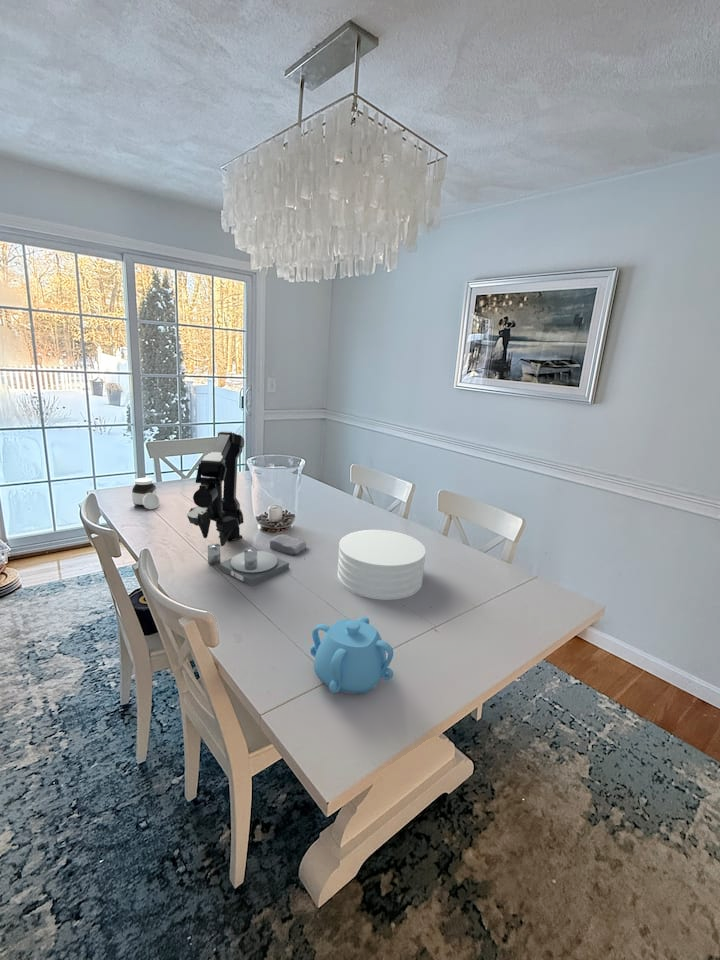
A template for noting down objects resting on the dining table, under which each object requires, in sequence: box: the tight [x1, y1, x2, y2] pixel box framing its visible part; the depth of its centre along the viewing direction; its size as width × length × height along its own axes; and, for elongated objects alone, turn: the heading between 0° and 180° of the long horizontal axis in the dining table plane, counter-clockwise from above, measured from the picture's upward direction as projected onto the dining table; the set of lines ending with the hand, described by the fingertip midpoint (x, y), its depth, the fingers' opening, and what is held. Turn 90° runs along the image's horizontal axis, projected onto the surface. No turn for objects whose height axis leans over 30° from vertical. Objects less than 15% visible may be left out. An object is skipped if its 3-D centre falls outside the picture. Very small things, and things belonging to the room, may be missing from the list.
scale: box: [218, 548, 290, 586], centre depth 148 cm, size 16×17×3 cm
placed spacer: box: [243, 547, 258, 570], centre depth 142 cm, size 4×4×6 cm
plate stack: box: [337, 529, 427, 601], centre depth 147 cm, size 28×28×12 cm
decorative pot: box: [309, 616, 394, 696], centre depth 100 cm, size 16×16×14 cm
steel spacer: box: [207, 543, 222, 566], centre depth 150 cm, size 4×4×6 cm
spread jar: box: [131, 477, 160, 510], centre depth 197 cm, size 12×11×12 cm
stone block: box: [269, 533, 307, 556], centre depth 166 cm, size 12×5×10 cm
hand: (213, 541), depth 149 cm, fingers open, 9 cm apart
